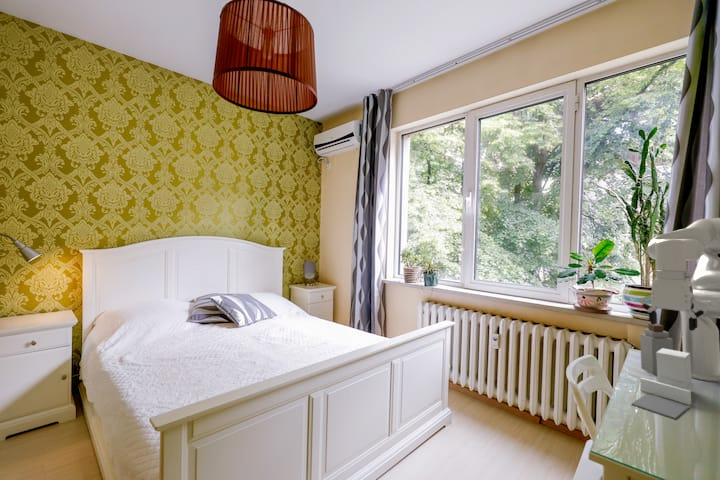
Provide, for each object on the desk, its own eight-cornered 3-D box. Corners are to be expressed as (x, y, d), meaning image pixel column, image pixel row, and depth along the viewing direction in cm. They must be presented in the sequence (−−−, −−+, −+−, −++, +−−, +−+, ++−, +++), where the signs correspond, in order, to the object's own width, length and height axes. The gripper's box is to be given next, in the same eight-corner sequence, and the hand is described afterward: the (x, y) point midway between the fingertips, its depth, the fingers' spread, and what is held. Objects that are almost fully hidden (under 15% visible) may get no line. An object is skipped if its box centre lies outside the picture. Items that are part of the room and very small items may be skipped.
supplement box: (692, 391, 108) (691, 353, 108) (687, 397, 104) (685, 357, 104) (663, 383, 114) (662, 347, 115) (656, 389, 110) (655, 351, 110)
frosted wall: (642, 389, 110) (641, 377, 110) (691, 403, 100) (690, 390, 100) (640, 390, 109) (640, 378, 109) (689, 404, 99) (689, 391, 99)
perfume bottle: (674, 375, 121) (672, 327, 121) (653, 374, 122) (651, 326, 122) (661, 368, 127) (659, 322, 128) (641, 367, 129) (639, 322, 129)
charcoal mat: (647, 394, 106) (647, 393, 106) (689, 407, 97) (689, 406, 97) (631, 404, 100) (631, 403, 100) (675, 419, 91) (675, 417, 91)
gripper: (711, 277, 104) (712, 330, 104) (643, 273, 119) (644, 320, 119) (703, 278, 100) (705, 334, 100) (634, 274, 115) (635, 323, 115)
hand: (672, 326), depth 109 cm, fingers open, 9 cm apart
